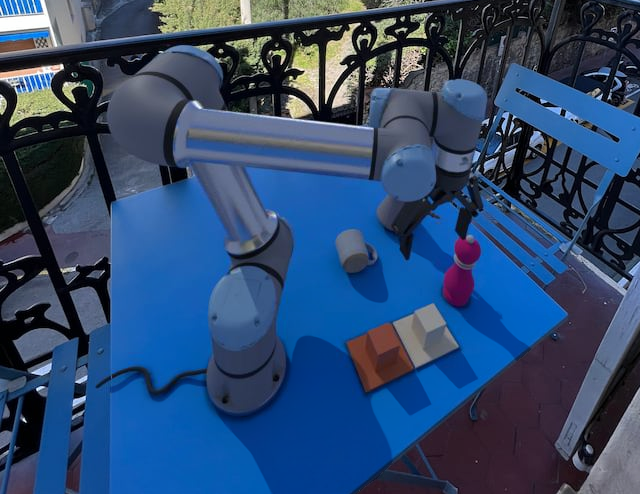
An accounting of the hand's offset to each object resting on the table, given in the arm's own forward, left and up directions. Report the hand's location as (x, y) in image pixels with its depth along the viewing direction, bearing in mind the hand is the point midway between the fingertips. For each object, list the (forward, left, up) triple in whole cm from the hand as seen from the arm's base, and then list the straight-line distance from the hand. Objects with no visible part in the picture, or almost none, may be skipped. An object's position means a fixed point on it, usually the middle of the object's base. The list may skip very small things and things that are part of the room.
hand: (433, 244), depth 82 cm
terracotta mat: (-12, -4, -25) cm, 27 cm away
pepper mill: (+12, +2, -25) cm, 28 cm away
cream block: (0, -4, -24) cm, 24 cm away
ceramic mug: (-7, +20, -25) cm, 33 cm away
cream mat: (0, -4, -25) cm, 25 cm away
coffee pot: (+10, +23, -25) cm, 35 cm away
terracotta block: (-11, -4, -24) cm, 27 cm away
